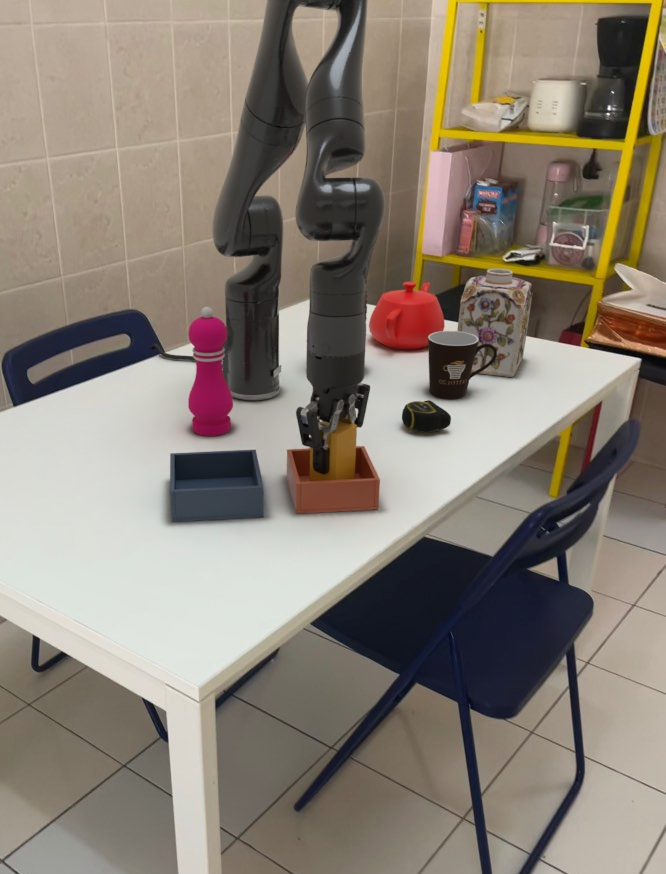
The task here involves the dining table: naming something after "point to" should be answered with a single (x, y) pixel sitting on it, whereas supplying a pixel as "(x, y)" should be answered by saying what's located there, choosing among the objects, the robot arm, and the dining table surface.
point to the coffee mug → (453, 362)
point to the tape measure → (425, 416)
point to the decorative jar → (497, 319)
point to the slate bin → (215, 485)
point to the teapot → (406, 317)
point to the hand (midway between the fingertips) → (332, 465)
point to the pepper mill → (209, 377)
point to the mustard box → (338, 454)
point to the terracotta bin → (332, 485)
